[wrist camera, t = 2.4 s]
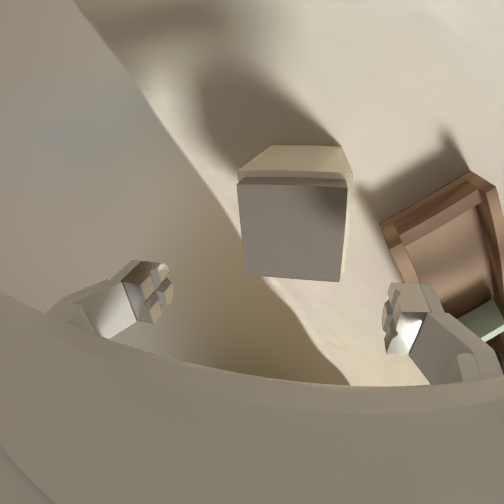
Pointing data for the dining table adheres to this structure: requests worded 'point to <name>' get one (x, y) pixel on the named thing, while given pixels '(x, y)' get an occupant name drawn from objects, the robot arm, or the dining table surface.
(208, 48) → the dining table surface
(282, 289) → the dining table surface
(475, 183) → the pusher lane
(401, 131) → the dining table surface
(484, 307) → the plate
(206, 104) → the dining table surface
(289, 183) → the cream rectangular box
